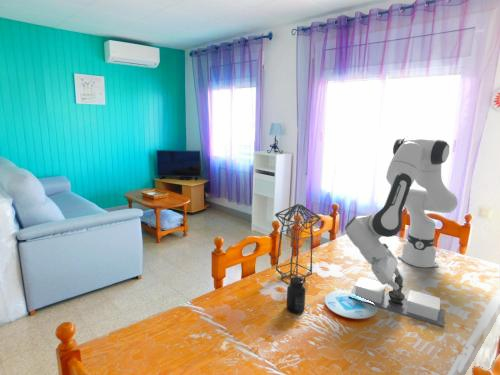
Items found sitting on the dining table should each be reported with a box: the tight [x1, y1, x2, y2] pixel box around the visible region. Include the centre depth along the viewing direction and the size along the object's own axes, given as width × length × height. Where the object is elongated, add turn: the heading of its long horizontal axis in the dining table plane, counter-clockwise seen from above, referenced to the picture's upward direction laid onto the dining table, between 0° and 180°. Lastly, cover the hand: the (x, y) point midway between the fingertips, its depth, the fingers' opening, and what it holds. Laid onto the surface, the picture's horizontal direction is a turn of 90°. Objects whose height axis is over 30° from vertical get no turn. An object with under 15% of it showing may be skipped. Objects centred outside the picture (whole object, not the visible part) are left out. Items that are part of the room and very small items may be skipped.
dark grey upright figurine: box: [388, 275, 406, 307], centre depth 122 cm, size 6×6×12 cm
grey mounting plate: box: [350, 276, 445, 328], centre depth 123 cm, size 12×33×5 cm, turn 58°
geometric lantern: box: [274, 203, 323, 285], centre depth 137 cm, size 16×16×35 cm
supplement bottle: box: [286, 276, 307, 315], centre depth 117 cm, size 7×7×12 cm
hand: (399, 283), depth 122 cm, fingers open, 8 cm apart
